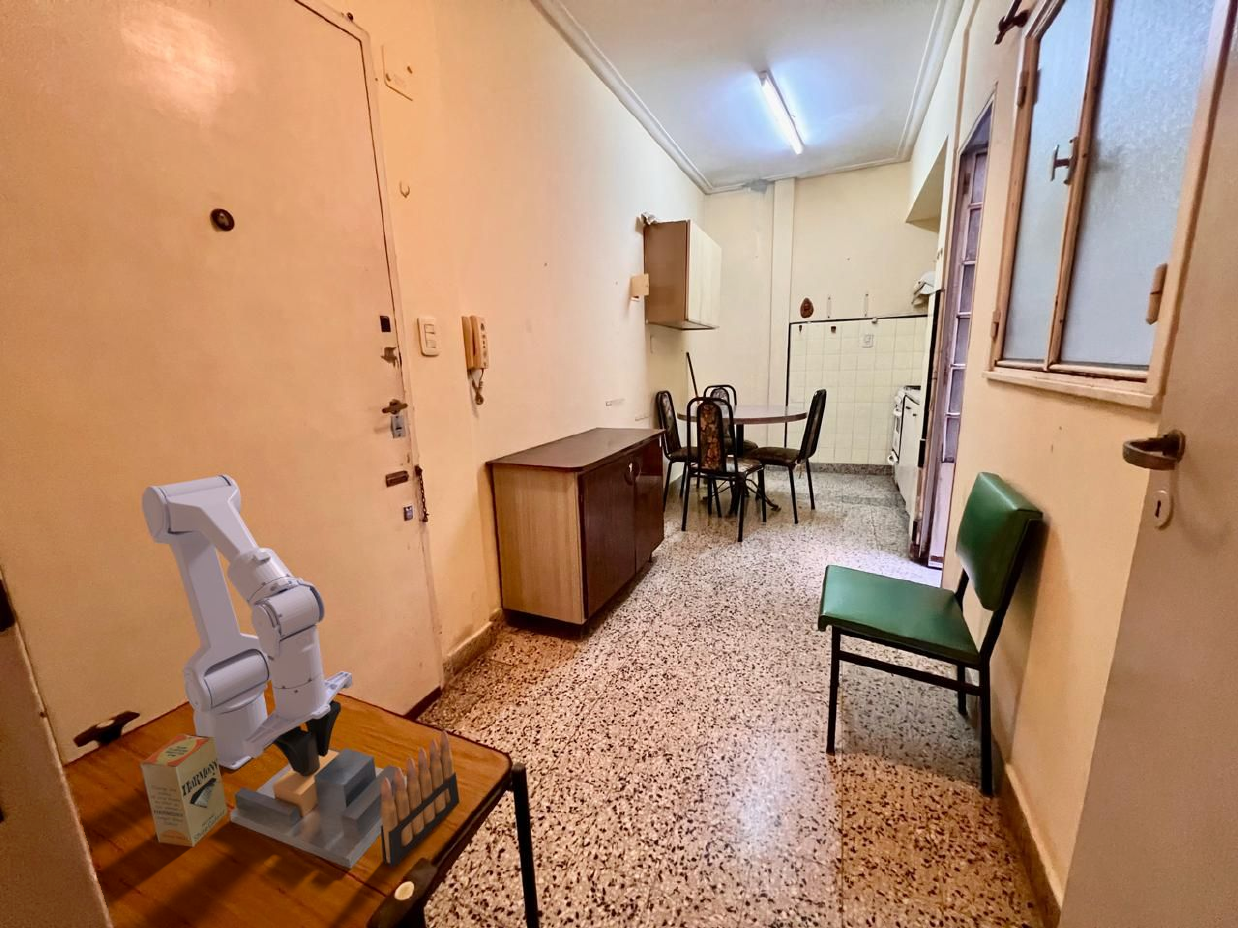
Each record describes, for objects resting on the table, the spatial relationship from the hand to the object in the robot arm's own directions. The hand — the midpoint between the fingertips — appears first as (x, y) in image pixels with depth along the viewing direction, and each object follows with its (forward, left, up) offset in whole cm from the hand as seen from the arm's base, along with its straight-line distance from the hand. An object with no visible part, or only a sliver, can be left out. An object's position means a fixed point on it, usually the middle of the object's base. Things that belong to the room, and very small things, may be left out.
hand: (310, 761), depth 67 cm
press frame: (+2, 0, -6) cm, 7 cm away
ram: (0, 0, -5) cm, 5 cm away
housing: (+6, 0, -5) cm, 8 cm away
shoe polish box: (-12, -8, -7) cm, 16 cm away
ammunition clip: (+17, +1, -7) cm, 19 cm away
